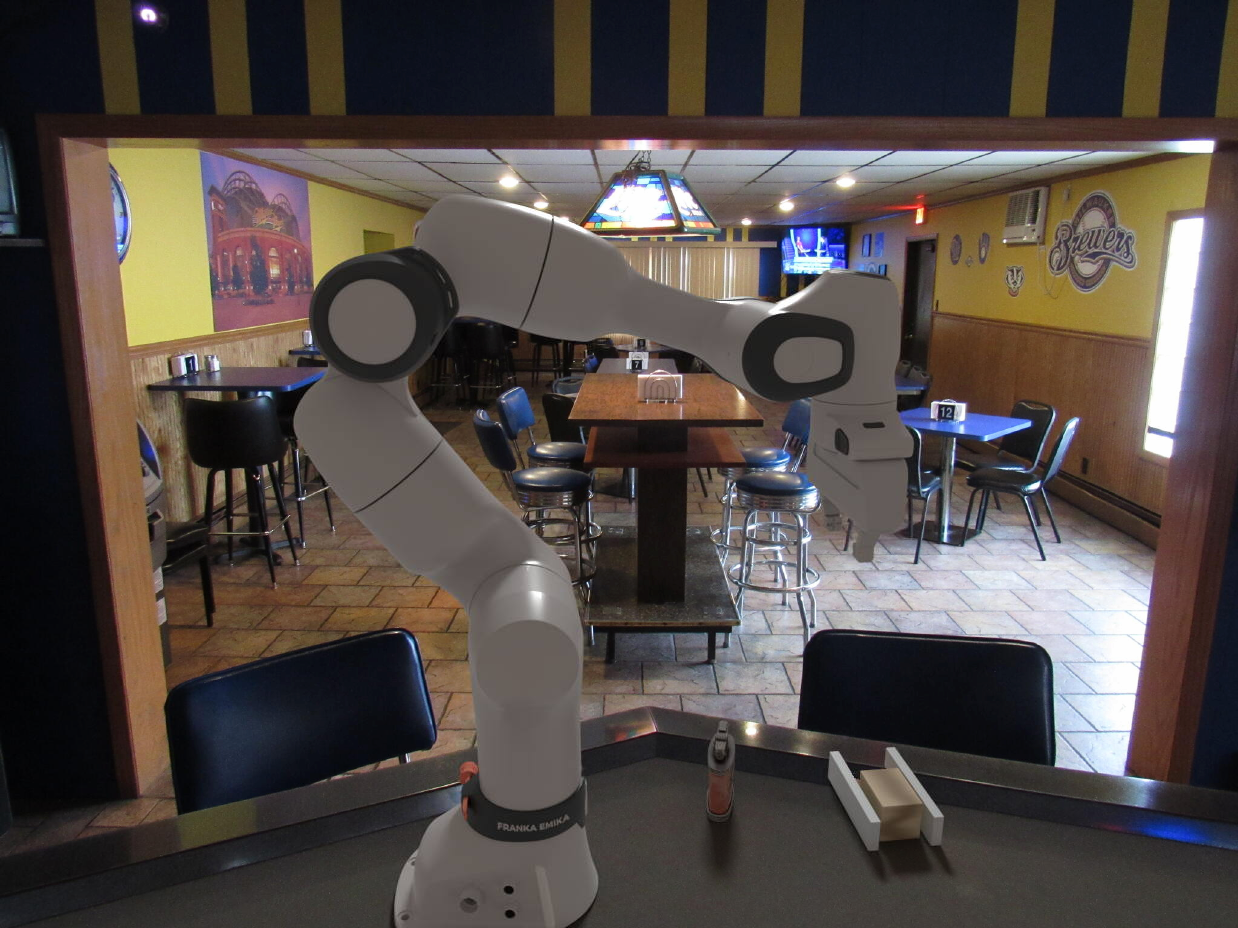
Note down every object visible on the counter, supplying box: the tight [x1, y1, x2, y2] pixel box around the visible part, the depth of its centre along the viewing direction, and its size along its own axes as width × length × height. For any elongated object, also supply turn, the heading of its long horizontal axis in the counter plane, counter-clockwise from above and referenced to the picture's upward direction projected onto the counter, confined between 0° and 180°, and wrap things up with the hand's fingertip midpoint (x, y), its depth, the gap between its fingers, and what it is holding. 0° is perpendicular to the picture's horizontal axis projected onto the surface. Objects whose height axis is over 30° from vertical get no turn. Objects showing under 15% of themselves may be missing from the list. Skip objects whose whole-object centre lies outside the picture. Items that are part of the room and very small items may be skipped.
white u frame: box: [827, 746, 945, 852], centre depth 107 cm, size 9×14×4 cm, turn 6°
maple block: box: [859, 768, 923, 842], centre depth 105 cm, size 5×7×5 cm
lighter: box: [706, 720, 736, 823], centre depth 108 cm, size 8×3×10 cm, turn 168°
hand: (846, 544), depth 94 cm, fingers open, 8 cm apart
